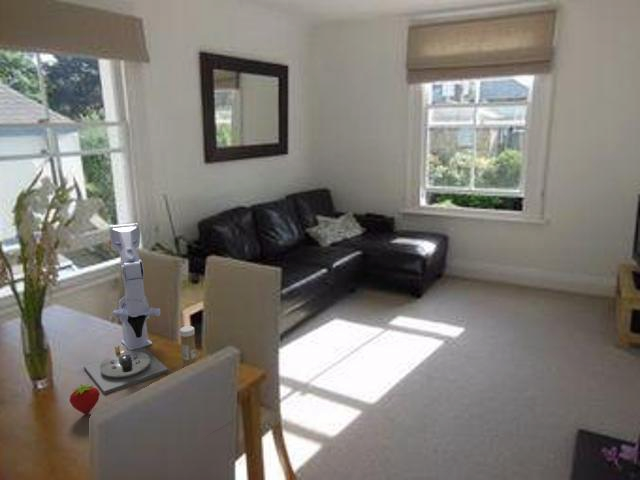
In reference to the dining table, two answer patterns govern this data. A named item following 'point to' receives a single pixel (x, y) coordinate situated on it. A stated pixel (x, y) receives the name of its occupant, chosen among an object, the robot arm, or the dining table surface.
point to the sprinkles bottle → (188, 345)
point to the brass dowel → (117, 349)
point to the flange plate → (119, 367)
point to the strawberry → (84, 398)
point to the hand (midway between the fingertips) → (139, 336)
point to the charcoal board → (115, 384)
